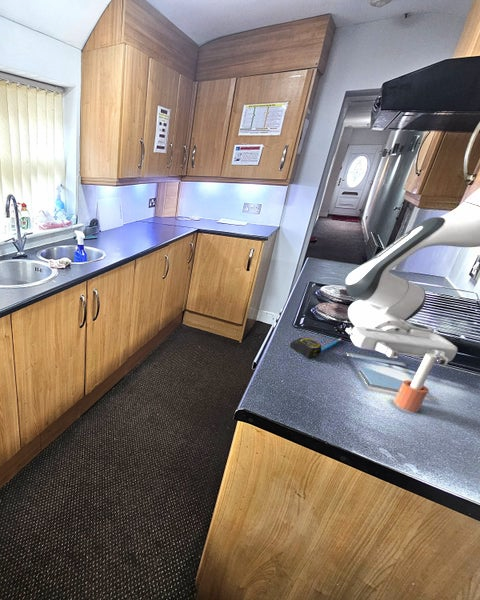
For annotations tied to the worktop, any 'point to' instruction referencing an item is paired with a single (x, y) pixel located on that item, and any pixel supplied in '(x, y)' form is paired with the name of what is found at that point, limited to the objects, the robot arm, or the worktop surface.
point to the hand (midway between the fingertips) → (418, 358)
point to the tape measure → (306, 347)
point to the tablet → (381, 376)
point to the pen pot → (410, 397)
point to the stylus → (423, 371)
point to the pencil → (331, 344)
